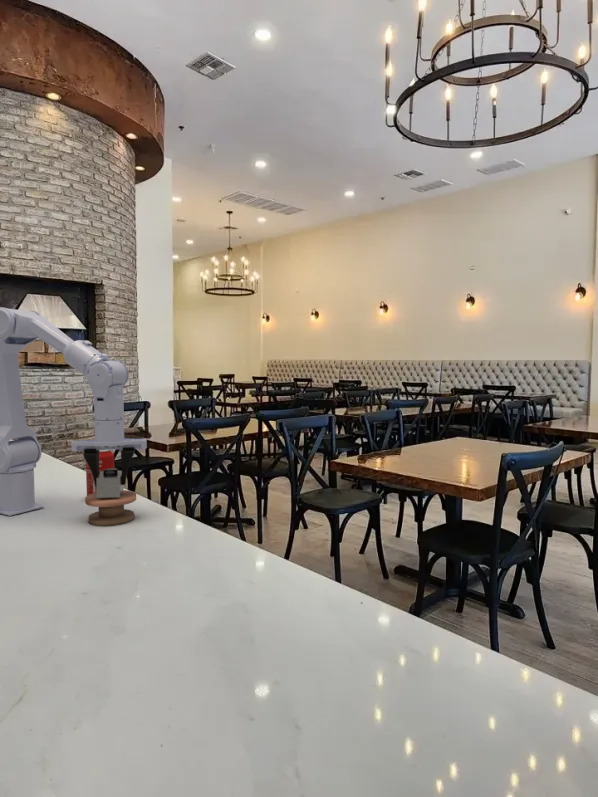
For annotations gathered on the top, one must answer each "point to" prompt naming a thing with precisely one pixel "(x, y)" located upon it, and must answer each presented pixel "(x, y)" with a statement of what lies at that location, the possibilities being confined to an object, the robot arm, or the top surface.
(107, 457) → the beverage can
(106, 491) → the block
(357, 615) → the top surface
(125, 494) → the stand
